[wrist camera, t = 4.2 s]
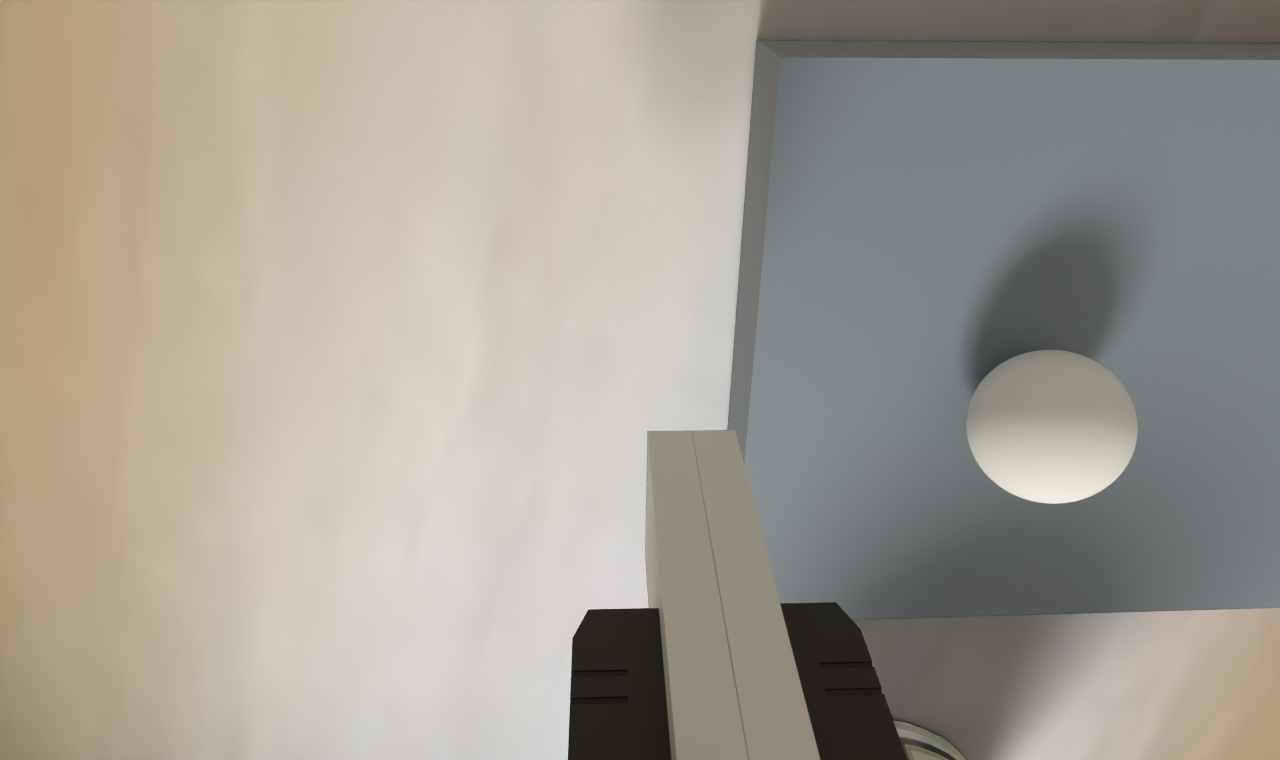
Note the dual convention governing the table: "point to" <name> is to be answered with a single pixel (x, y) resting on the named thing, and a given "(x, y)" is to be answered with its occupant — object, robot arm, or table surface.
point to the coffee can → (924, 744)
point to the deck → (1010, 318)
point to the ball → (1051, 426)
